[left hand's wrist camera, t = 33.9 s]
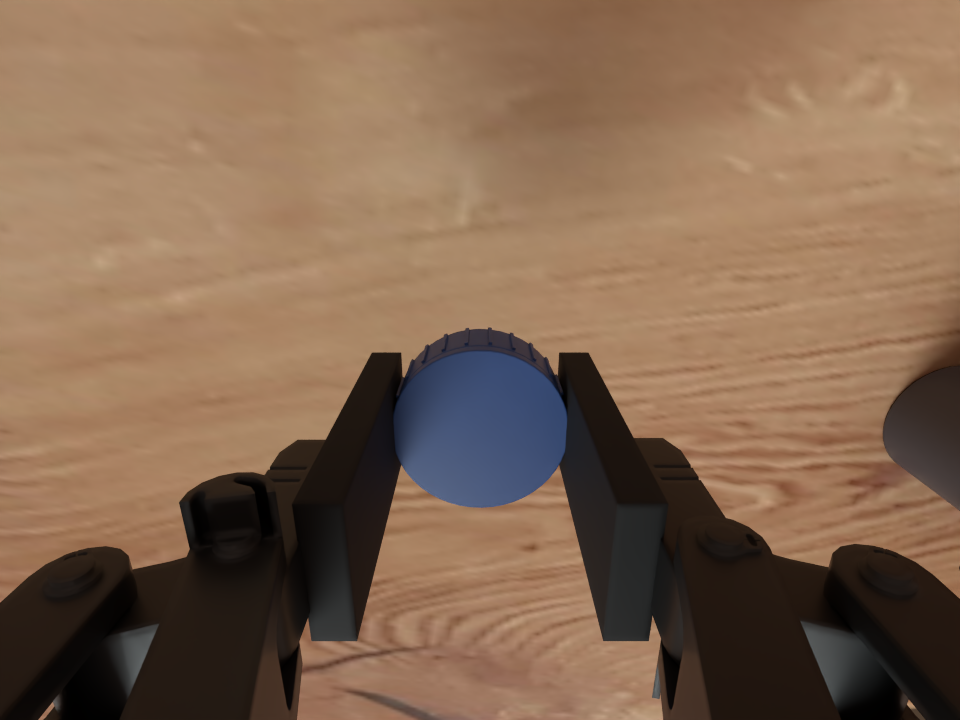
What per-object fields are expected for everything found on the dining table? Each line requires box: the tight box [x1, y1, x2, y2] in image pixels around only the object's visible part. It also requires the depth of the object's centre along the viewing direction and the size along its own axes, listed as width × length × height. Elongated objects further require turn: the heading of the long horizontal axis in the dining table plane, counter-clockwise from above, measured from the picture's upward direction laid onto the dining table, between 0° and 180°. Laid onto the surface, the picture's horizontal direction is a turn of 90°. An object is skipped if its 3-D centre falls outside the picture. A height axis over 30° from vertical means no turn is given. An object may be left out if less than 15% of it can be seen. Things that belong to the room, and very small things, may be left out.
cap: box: [393, 328, 567, 508], centre depth 14 cm, size 4×4×2 cm
